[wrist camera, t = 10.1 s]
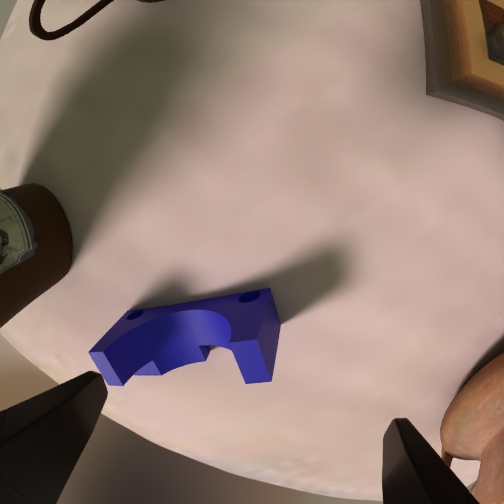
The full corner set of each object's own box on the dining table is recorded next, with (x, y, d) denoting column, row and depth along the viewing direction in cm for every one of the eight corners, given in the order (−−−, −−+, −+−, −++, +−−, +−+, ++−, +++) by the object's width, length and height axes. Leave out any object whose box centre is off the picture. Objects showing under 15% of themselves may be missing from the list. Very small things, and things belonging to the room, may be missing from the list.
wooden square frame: (520, 24, 9) (538, 16, 7) (531, 112, 11) (553, 111, 9) (440, -13, 10) (454, -28, 8) (452, 80, 12) (471, 73, 10)
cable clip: (149, 354, 24) (118, 399, 19) (128, 310, 23) (88, 352, 18) (285, 340, 22) (277, 399, 16) (270, 286, 20) (257, 339, 15)
